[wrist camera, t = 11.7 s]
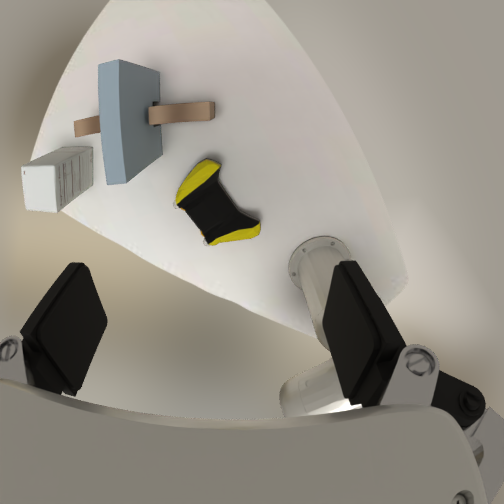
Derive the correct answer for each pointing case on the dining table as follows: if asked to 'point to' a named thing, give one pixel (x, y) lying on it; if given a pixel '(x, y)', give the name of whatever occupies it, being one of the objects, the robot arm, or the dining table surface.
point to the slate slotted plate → (127, 119)
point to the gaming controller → (213, 206)
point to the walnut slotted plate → (157, 116)
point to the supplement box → (57, 178)
